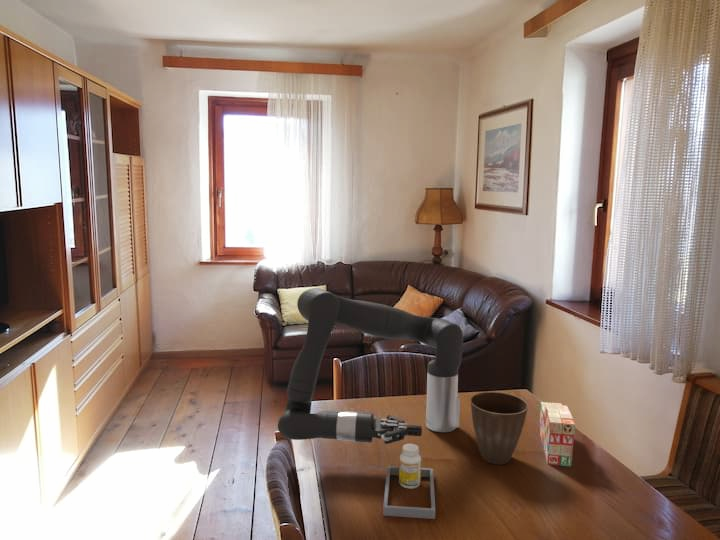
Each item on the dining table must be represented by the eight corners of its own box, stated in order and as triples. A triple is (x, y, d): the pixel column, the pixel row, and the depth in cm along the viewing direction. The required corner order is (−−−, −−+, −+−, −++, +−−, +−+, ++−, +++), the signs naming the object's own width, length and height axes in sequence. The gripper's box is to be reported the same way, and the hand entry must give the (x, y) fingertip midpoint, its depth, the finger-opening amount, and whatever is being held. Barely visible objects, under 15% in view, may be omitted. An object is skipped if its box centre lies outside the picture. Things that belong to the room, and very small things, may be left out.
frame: (387, 473, 143) (387, 465, 142) (432, 475, 142) (432, 468, 141) (383, 515, 124) (383, 507, 124) (435, 519, 123) (435, 510, 123)
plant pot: (534, 457, 151) (537, 402, 149) (507, 478, 141) (510, 418, 138) (486, 440, 161) (488, 387, 159) (457, 458, 151) (459, 402, 148)
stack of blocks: (538, 430, 169) (541, 391, 167) (560, 432, 167) (562, 393, 166) (547, 464, 148) (550, 421, 146) (572, 467, 147) (575, 423, 145)
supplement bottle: (412, 491, 134) (413, 454, 133) (394, 484, 138) (395, 447, 136) (424, 482, 138) (425, 446, 137) (407, 475, 142) (408, 440, 140)
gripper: (352, 423, 138) (422, 428, 137) (358, 403, 151) (422, 407, 150) (352, 451, 139) (421, 456, 138) (357, 429, 152) (420, 433, 151)
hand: (421, 431), depth 144 cm, fingers closed
